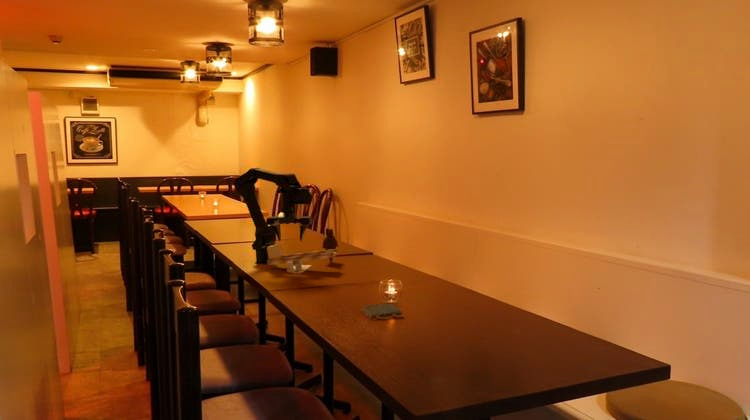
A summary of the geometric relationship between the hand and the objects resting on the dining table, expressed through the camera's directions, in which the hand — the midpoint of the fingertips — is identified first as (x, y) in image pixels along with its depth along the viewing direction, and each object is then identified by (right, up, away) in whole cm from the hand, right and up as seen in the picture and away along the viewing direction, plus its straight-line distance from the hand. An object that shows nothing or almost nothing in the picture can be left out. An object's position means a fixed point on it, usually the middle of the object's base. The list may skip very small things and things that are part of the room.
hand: (290, 241), depth 246 cm
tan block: (-5, -8, -3) cm, 10 cm away
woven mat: (+38, -19, -69) cm, 81 cm away
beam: (+6, -7, -5) cm, 11 cm away
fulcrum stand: (+2, -12, -4) cm, 13 cm away
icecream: (+16, -10, +12) cm, 22 cm away
